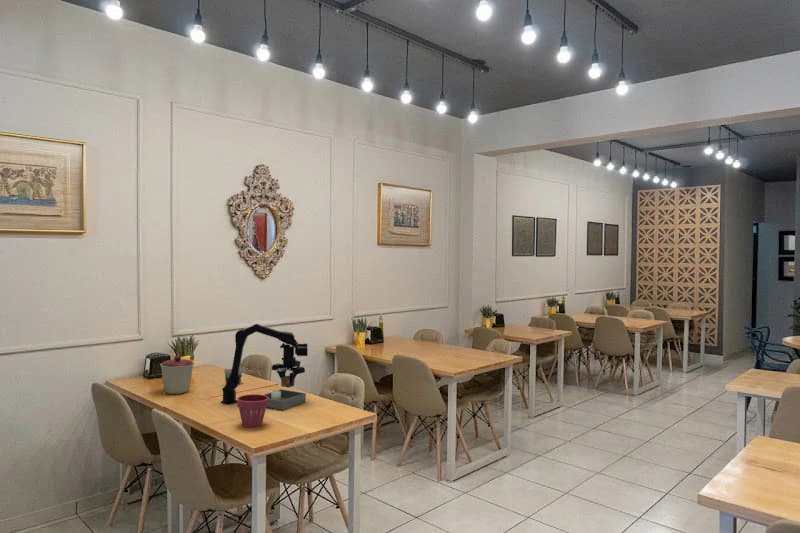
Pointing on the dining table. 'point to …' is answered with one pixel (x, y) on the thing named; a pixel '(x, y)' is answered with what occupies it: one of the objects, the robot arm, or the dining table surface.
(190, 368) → the canister
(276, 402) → the tote
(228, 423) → the dining table surface
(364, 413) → the dining table surface
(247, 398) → the plant pot
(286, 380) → the walnut cube
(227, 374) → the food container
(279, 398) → the sage cylinder
